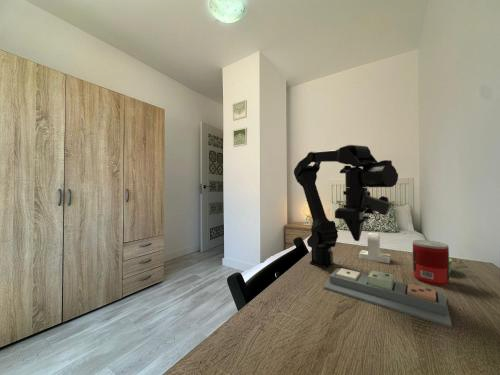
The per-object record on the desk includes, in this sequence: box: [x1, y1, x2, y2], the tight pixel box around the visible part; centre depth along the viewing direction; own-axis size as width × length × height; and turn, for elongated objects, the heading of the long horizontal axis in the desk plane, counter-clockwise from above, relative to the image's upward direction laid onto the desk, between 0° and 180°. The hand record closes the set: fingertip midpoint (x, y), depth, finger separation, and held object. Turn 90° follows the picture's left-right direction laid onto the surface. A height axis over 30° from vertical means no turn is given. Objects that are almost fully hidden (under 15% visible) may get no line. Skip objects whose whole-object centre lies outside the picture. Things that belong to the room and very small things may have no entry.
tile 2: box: [368, 270, 395, 291], centre depth 53 cm, size 5×5×2 cm
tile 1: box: [336, 267, 361, 282], centre depth 58 cm, size 5×5×2 cm
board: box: [323, 267, 453, 329], centre depth 53 cm, size 25×14×2 cm, turn 49°
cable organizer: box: [358, 232, 391, 264], centre depth 79 cm, size 5×10×10 cm, turn 52°
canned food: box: [412, 239, 450, 287], centre depth 60 cm, size 8×8×11 cm
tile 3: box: [407, 283, 436, 302], centre depth 48 cm, size 5×5×2 cm
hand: (356, 240), depth 60 cm, fingers closed
